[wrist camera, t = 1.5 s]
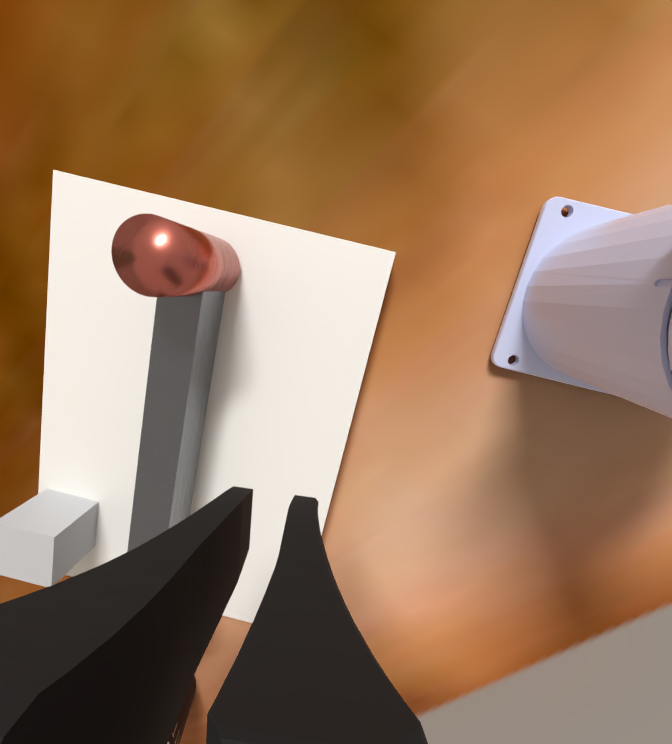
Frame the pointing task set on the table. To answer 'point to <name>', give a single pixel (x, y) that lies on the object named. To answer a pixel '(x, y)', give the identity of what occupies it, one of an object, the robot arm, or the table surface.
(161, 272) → the lever
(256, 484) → the white flat block
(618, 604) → the table surface
